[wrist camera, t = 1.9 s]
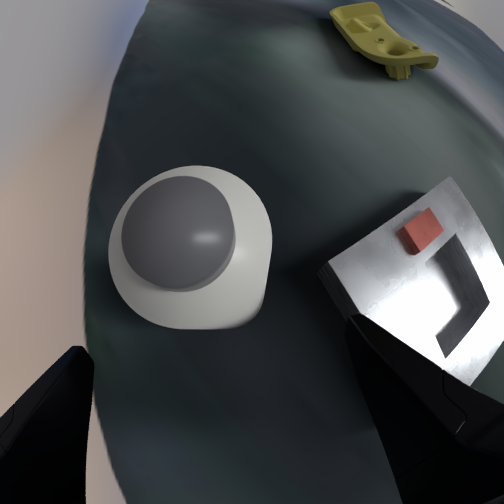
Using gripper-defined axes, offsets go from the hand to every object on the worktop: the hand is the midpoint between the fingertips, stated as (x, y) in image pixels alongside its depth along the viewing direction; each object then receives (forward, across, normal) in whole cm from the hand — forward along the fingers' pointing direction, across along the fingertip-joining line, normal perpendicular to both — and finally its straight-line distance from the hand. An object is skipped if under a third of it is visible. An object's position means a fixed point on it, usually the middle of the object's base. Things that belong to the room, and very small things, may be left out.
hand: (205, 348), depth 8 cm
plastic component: (+31, -24, -15) cm, 42 cm away
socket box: (+7, -15, +8) cm, 19 cm away
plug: (+9, 0, +5) cm, 11 cm away
